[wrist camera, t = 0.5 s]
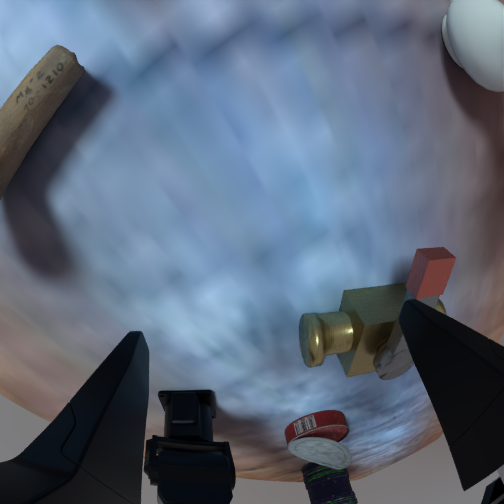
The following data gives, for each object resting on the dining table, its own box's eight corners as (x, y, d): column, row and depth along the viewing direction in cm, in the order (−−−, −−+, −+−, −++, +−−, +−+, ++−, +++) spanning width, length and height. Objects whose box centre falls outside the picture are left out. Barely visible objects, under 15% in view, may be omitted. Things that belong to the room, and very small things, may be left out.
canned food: (309, 415, 48) (303, 466, 42) (275, 407, 42) (265, 466, 36) (367, 412, 41) (362, 469, 35) (339, 404, 35) (331, 473, 29)
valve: (412, 326, 32) (434, 359, 27) (295, 347, 30) (309, 389, 25) (431, 279, 28) (459, 310, 24) (303, 294, 27) (321, 337, 22)
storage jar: (309, 459, 50) (325, 520, 37) (350, 452, 52) (369, 507, 39) (295, 474, 54) (307, 527, 41) (333, 467, 56) (348, 518, 43)
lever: (401, 363, 25) (408, 374, 24) (367, 371, 25) (373, 384, 24) (448, 246, 19) (461, 257, 18) (410, 249, 19) (422, 261, 17)
